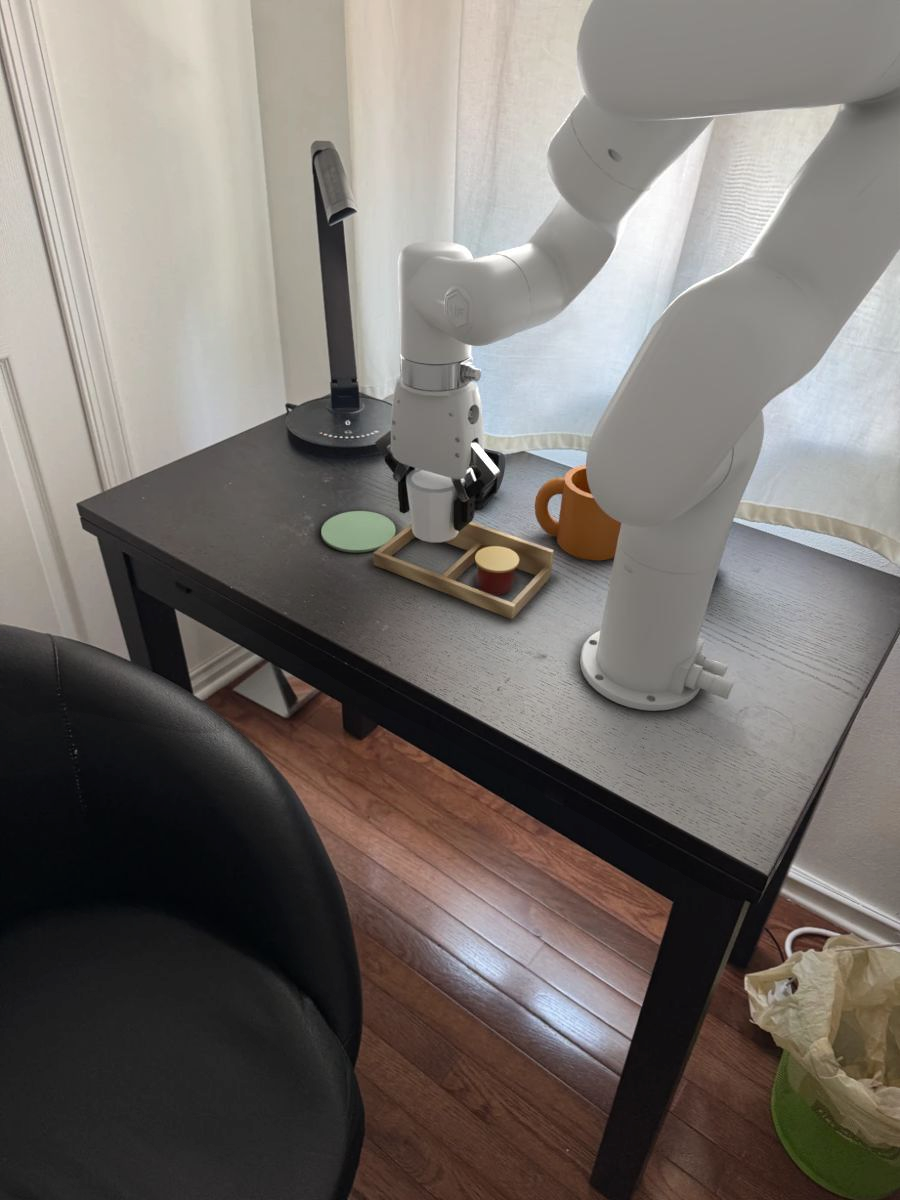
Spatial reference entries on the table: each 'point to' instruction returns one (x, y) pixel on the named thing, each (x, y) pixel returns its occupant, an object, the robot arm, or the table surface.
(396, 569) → the pod caddy
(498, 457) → the end cap
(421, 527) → the shot glass
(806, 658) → the table surface
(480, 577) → the coffee pod
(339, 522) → the coaster
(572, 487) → the mug
